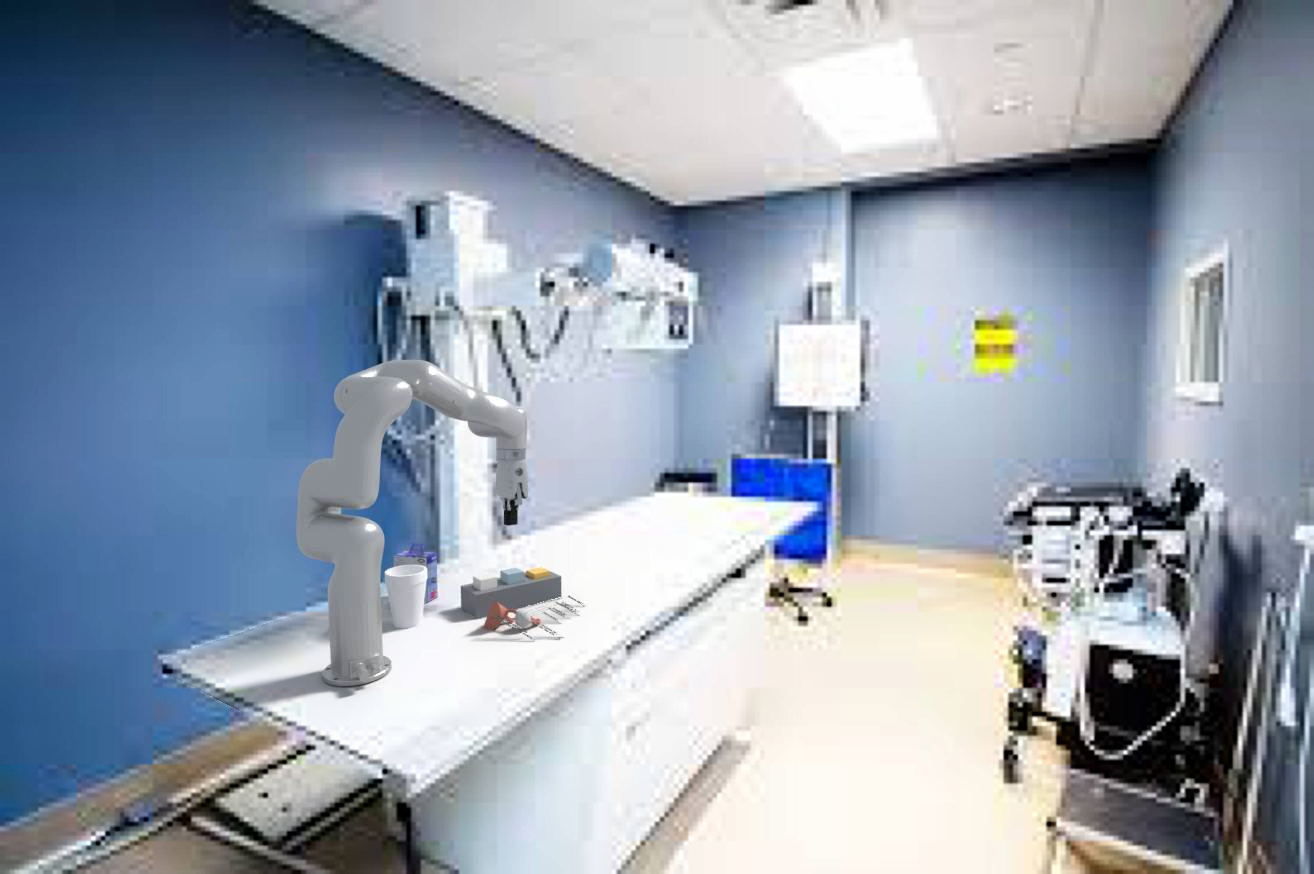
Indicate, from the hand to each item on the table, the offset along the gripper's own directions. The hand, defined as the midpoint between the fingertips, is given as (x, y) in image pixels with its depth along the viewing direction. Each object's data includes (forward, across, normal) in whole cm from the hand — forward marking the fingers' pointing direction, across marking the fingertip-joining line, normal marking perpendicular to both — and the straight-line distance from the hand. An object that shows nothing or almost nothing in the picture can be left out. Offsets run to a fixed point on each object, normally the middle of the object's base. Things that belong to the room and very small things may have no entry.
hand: (510, 524), depth 178 cm
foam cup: (+21, -1, +27) cm, 34 cm away
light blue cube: (+15, -4, +1) cm, 16 cm away
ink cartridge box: (+20, +15, +20) cm, 32 cm away
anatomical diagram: (+21, -19, 0) cm, 29 cm away
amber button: (+16, -4, -6) cm, 18 cm away
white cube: (+16, -4, +9) cm, 18 cm away
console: (+20, -4, +1) cm, 20 cm away
